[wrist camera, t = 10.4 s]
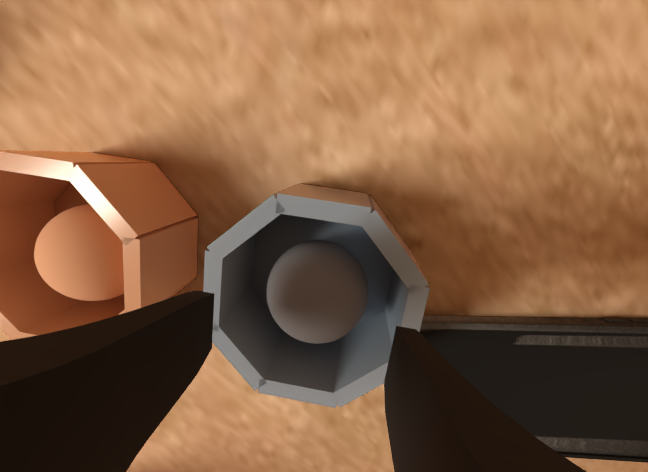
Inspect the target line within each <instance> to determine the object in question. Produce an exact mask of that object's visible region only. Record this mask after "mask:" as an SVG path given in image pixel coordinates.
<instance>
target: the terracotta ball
mask: <svg viewBox="0 0 648 472" xmlns="http://www.w3.org/2000/svg"><path fill="white" fill-rule="evenodd" d="M34 259H35V264H36V267H37V270H38V272H39V274H40V275H41V277H42V278H43V280H44V281H45V282H46V283H47V284H48V285H49V286H50V287H51V288H53V289H54V290H56V291H57V292H59V293H61V294H63V295H65V296H67V297H70V298H73V299H78V300H85V301H99V300H107V299H111V298H115V297H117V296H120V295H122V294H124V271H123V242H122V241H121V239H120V238H119V237H118V236H117V235H116V234H115V233H114V231H113V230H112V229H111V228H110V227H109V226H108V225H107V223H106V222H105V221H104V220H103V219H102V218H101V217H100V215H99V214H98V213H97V212H96V211H95V210H94V209H93V207H92V206H91V205H90V204H86V205H81V206H77V207H73V208H71V209H68V210H66V211H64V212H62V213H60V214H58V215H57V216H55V217H54V218H53V219H51V220H50V221H49V222H48V223H47V224H46V225H45V227H44V228H43V229H42V231H41V232H40V234H39V236H38V238H37V241H36V244H35V250H34Z"/></svg>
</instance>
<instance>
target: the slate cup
mask: <svg viewBox="0 0 648 472" xmlns="http://www.w3.org/2000/svg"><path fill="white" fill-rule="evenodd" d="M311 240H325V241H330V242H333V243H336V244H338V245H341V246H343V247H344V248H346V249H347V250H348V251H350V252H351V253H352V254H353V255H354V256H355V257H356V258H357V259H358V261H359V262H360V264H361V265H362V267H363V269H364V271H365V274H366V277H367V281H368V289H369V295H368V302H367V306H366V310H365V312H364V314H363V316H362V318H361V320H360V321H359V323H358V324H357V325H356V326H355V327H354V328H353V329H352V330H351V331H350V332H349V333H348V334H346V335H345V336H343V337H342V338H340V339H337V340H335V341H332V342H328V343H320V344H315V343H307V342H303V341H300V340H297V339H295V338H293V337H292V336H290V335H288V334H287V333H286V332H285V331H283V330H282V329H281V328H280V326H279V325H278V324H277V323H276V321H275V320H274V318H273V316H272V314H271V312H270V309H269V306H268V302H267V282H268V278H269V275H270V272H271V270H272V268H273V266H274V264H275V263H276V261H277V260H278V259H279V258H280V256H281V255H282V254H283V253H285V252H286V251H287V250H288V249H290V248H291V247H293V246H295V245H297V244H299V243H302V242H305V241H311ZM207 248H208V249H207V250H205V259H204V284H203V292H208V293H214V313H213V334H212V342H213V343H214V345H215V346H216V347H217V348H218V349H219V350H220V351H221V353H222V354H223V355H224V356H225V357H226V358H227V360H228V361H229V362H230V363H231V364H232V365H233V366H234V368H235V369H236V370H237V371H238V372H239V373H240V374H241V376H242V377H243V378H244V379H245V380H246V381H247V382H248V384H249V385H250V386H251V387H252V388H253V389H254V390H256V389H258V393H263V394H268V395H273V396H278V397H283V398H288V399H293V400H298V401H303V402H308V403H313V404H318V405H323V406H328V407H333V408H336V405H338V406H339V407H342V406H343V405H345V404H347V403H349V402H351V401H353V400H354V399H356V398H358V397H360V396H362V395H363V394H365V393H367V392H369V391H371V390H373V389H374V388H376V387H378V386H380V385H382V384H384V380H385V375H386V371H387V366H388V362H389V357H390V353H391V348H392V343H393V339H394V334H395V330H396V326H400V327H406V328H411V329H416V330H417V331H418V332H420V328H421V323H422V319H423V315H424V311H425V307H426V303H427V299H428V295H429V290H430V287H429V286H428V284H429V283H428V281H427V279H426V278H425V276H424V274H423V272H422V271H421V269H420V267H419V265H418V264H417V262H416V260H415V258H414V256H413V255H412V253H411V251H410V249H409V248H408V247H407V245H406V244H405V242H404V241H403V240H402V238H401V237H400V235H399V234H398V233H397V231H396V230H395V229H394V227H393V226H392V224H391V223H390V222H389V220H388V219H387V217H386V216H385V215H384V213H383V212H382V211H381V209H380V208H379V206H378V205H377V204H376V202H375V201H374V199H373V198H372V197H371V195H370V196H369V197H368V193H361V192H355V191H348V190H341V189H334V188H328V187H321V186H314V185H307V184H301V183H300V184H298V185H295V186H292V187H290V188H287V189H285V190H283V191H280V192H278V193H275V194H273V195H272V196H270V197H269V198H268V199H267V200H265V201H264V202H263V203H262V204H260V205H259V206H258V207H257V208H255V209H254V210H253V211H252V212H250V213H249V214H248V215H246V216H245V217H244V218H243V219H241V220H240V221H239V222H238V223H236V224H235V225H234V226H233V227H231V228H230V229H229V230H227V231H226V232H225V233H224V234H222V235H221V236H220V237H219V238H217V239H216V240H215V241H214V242H212V243H211V244H210V245H209V246H207Z"/></svg>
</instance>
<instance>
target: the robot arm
mask: <svg viewBox="0 0 648 472" xmlns="http://www.w3.org/2000/svg"><path fill="white" fill-rule="evenodd" d="M213 313H214V293H208V292H202V291H192V292H188V293H185V294H181V295H178V296H175V297H172V298H169V299H166V300H163V301H160V302H157V303H154V304H151V305H148V306H145V307H142V308H139V309H136V310H133V311H129V312H126V313H123V314H119V315H116V316H113V317H110V318H106V319H103V320H100V321H96V322H92V323H89V324H85V325H81V326H77V327H73V328H69V329H64V330H60V331H56V332H51V333H47V334H42V335H37V336H31V337H25V338H20V339H14V340H8V341H3V342H0V472H126V471H127V469H128V468H129V466H130V465H131V463H132V462H133V460H134V458H135V457H136V455H137V454H138V453H139V451H140V450H141V448H142V447H143V446H144V444H145V443H146V441H147V440H148V439H149V437H150V436H151V435H152V433H153V432H154V431H155V429H156V428H157V427H158V425H159V424H160V423H161V421H162V420H163V419H164V418H165V416H166V415H167V414H168V412H169V411H170V410H171V408H172V407H173V406H174V404H175V403H176V402H177V400H178V399H179V398H180V397H181V395H182V394H183V393H184V391H185V390H186V388H187V387H188V386H189V384H190V383H191V382H192V380H193V379H194V378H195V376H196V375H197V373H198V372H199V370H200V368H201V366H202V365H203V363H204V361H205V359H206V358H207V356H208V354H209V352H210V350H211V349H212V334H213ZM384 388H385V413H386V420H387V426H388V433H389V439H390V446H391V452H392V458H393V464H394V471H395V472H586V471H584V470H583V469H581V468H580V467H578V466H577V465H575V464H574V463H572V462H571V461H569V460H568V459H566V458H565V457H563V456H562V455H561V454H559V453H558V452H556V451H555V450H553V449H552V448H550V447H549V446H548V445H546V444H545V443H543V442H542V441H540V440H539V439H538V438H536V437H535V436H534V435H532V434H531V433H529V432H528V431H527V430H525V429H524V428H523V427H521V426H520V425H519V424H518V423H516V422H515V421H514V420H513V419H511V418H510V417H509V416H508V415H506V414H505V413H504V412H502V411H501V410H500V409H499V408H497V407H496V406H495V405H494V404H493V403H491V402H490V401H489V400H488V399H487V398H486V397H485V396H483V395H482V394H481V393H480V392H479V391H478V390H477V389H476V388H475V387H473V386H472V385H471V384H470V383H469V382H468V381H467V380H466V379H465V378H464V377H463V376H462V375H461V374H460V373H459V372H458V371H457V370H456V369H454V368H453V367H452V366H451V365H450V363H449V362H448V361H447V360H446V359H445V358H444V357H443V356H442V355H441V354H440V353H439V352H438V351H437V350H436V349H435V348H434V347H433V346H432V345H431V344H430V343H429V342H428V341H427V340H426V339H425V338H424V336H423V335H422V334H421V333H419V332H418V331H417V330H416V329H411V328H406V327H400V326H396V330H395V334H394V339H393V343H392V348H391V353H390V357H389V362H388V366H387V371H386V375H385V380H384Z"/></svg>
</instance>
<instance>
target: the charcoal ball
mask: <svg viewBox="0 0 648 472" xmlns="http://www.w3.org/2000/svg"><path fill="white" fill-rule="evenodd" d="M368 295H369V289H368V281H367V277H366V274H365V271H364V269H363V267H362V265H361V264H360V262H359V261H358V259H357V258H356V257H355V256H354V255H353V254H352V253H351V252H350V251H348V250H347V249H346V248H344V247H343V246H341V245H338V244H336V243H333V242H330V241H325V240H311V241H305V242H302V243H299V244H297V245H295V246H293V247H291V248H290V249H288V250H287V251H286V252H285V253H283V254H282V255H281V256H280V258H279V259H278V260H277V261H276V263H275V264H274V266H273V268H272V270H271V272H270V275H269V278H268V282H267V302H268V306H269V309H270V312H271V314H272V316H273V318H274V320H275V321H276V323H277V324H278V325H279V326H280V328H281V329H282V330H283V331H285V332H286V333H287V334H288V335H290V336H292V337H293V338H295V339H297V340H300V341H303V342H307V343H315V344H320V343H328V342H332V341H335V340H337V339H340V338H342V337H343V336H345V335H346V334H348V333H349V332H350V331H351V330H352V329H353V328H354V327H355V326H356V325H357V324H358V323H359V321H360V320H361V318H362V316H363V314H364V312H365V310H366V306H367V302H368Z"/></svg>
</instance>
